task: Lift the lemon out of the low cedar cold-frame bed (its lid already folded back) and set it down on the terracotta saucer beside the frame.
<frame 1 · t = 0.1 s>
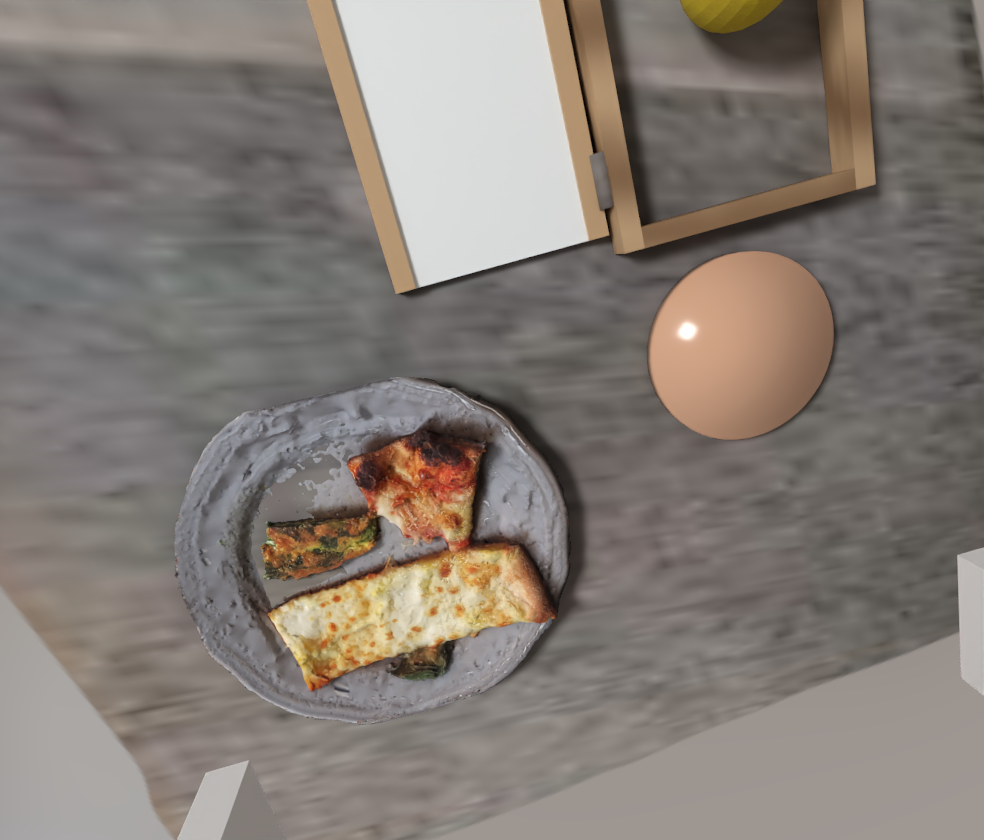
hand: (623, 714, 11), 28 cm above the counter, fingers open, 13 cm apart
lid: (451, 64, 33), on the counter
food plate: (383, 547, 40), on the counter
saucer: (736, 347, 39), on the counter
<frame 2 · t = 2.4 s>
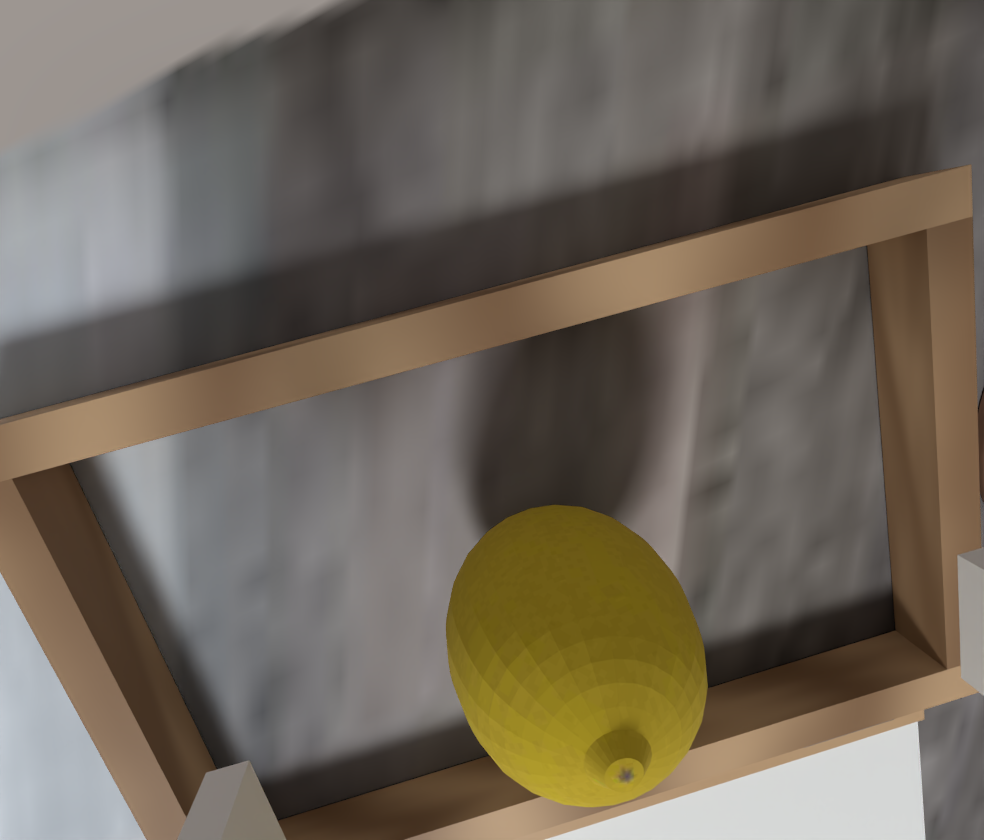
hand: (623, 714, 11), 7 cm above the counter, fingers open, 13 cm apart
cold frame: (534, 552, 17), on the counter
lemon: (533, 549, 18), resting in cold frame
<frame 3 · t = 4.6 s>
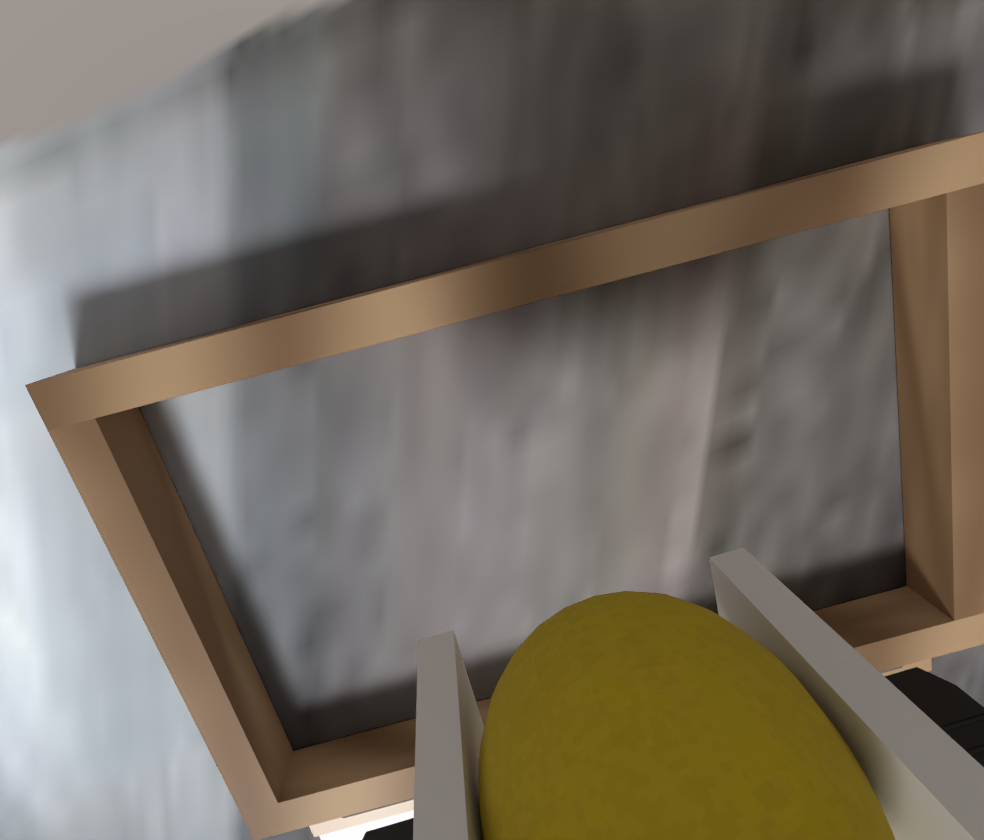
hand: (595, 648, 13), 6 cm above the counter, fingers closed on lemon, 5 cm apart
cold frame: (561, 502, 19), on the counter
lemon: (588, 630, 13), point 6 cm above the counter, touching gripper
lid: (640, 836, 23), on the counter
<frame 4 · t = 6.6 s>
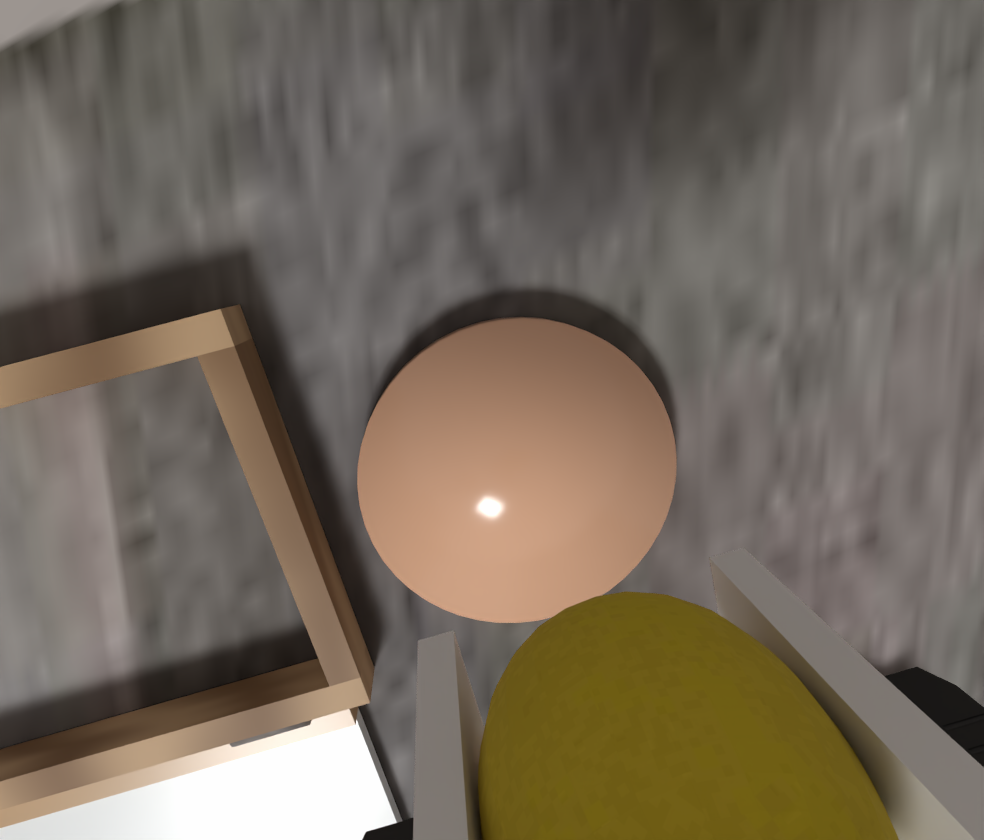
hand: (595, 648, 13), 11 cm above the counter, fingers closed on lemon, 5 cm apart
lemon: (588, 631, 13), point 10 cm above the counter, touching gripper
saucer: (517, 472, 23), on the counter
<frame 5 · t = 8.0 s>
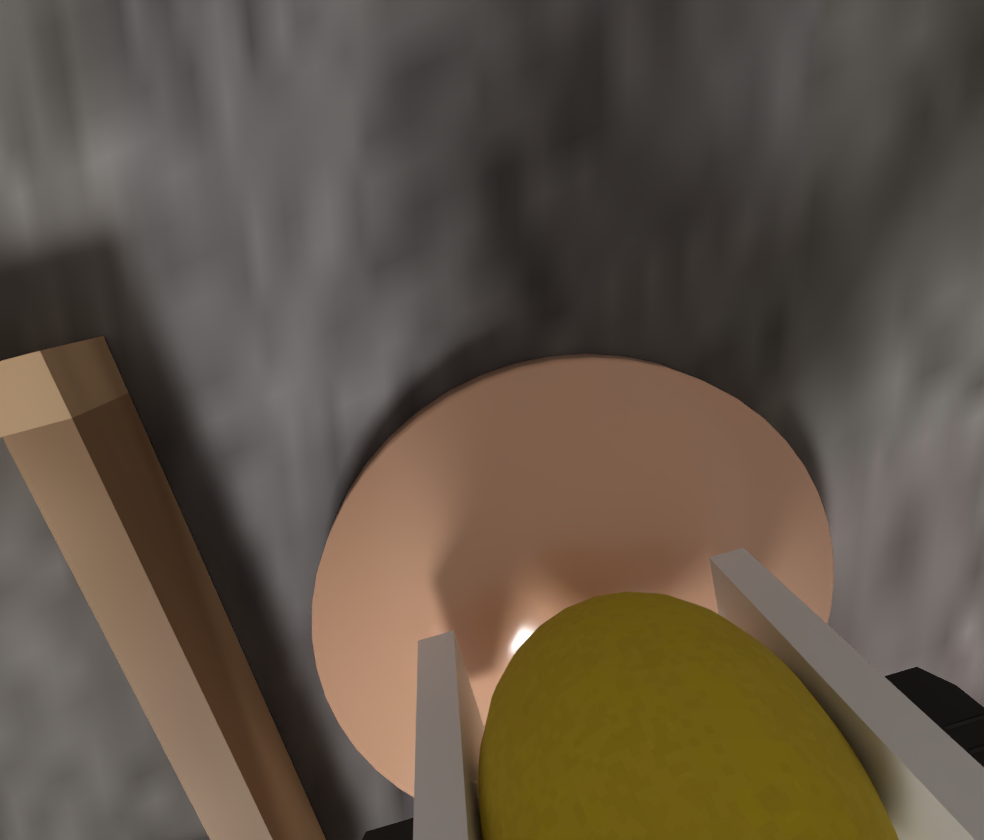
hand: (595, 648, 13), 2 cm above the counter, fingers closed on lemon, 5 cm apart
lemon: (588, 631, 13), point 1 cm above the counter, touching gripper
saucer: (573, 598, 14), on the counter
when the fingers open (1 cm above the counter, at t = 8.5 s): lemon stays where it is, resting on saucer.
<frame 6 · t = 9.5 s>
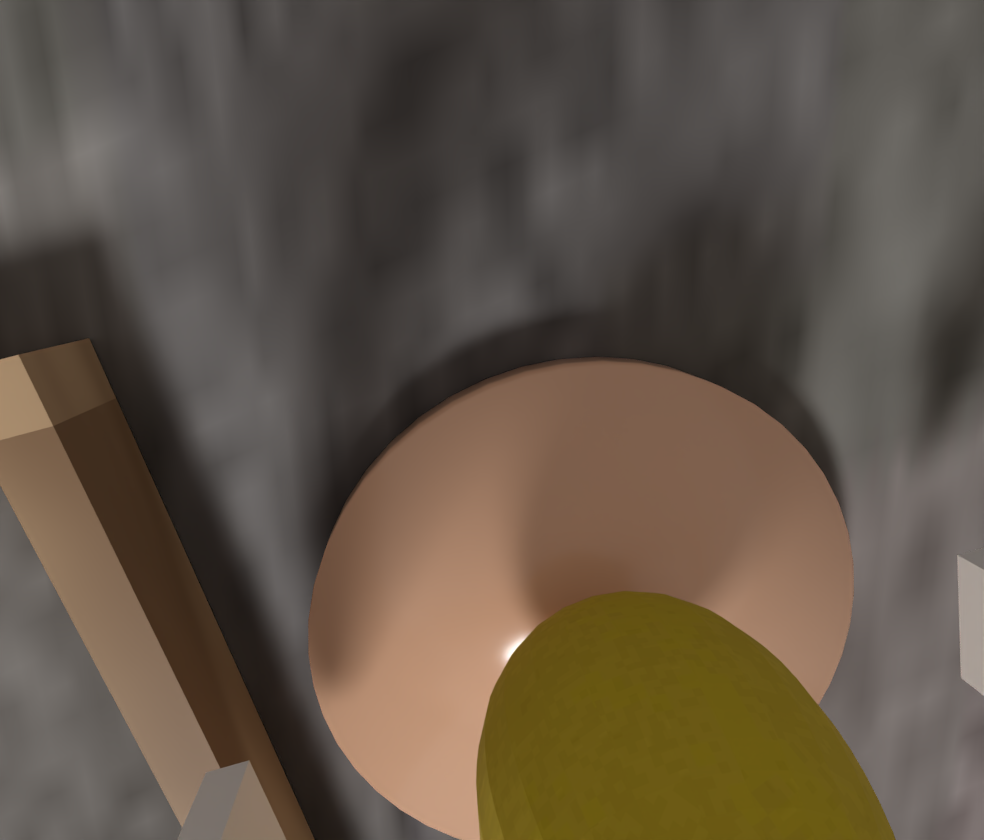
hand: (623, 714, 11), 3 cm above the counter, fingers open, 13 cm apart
lemon: (587, 631, 13), point 1 cm above the counter, touching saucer
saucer: (580, 612, 14), on the counter
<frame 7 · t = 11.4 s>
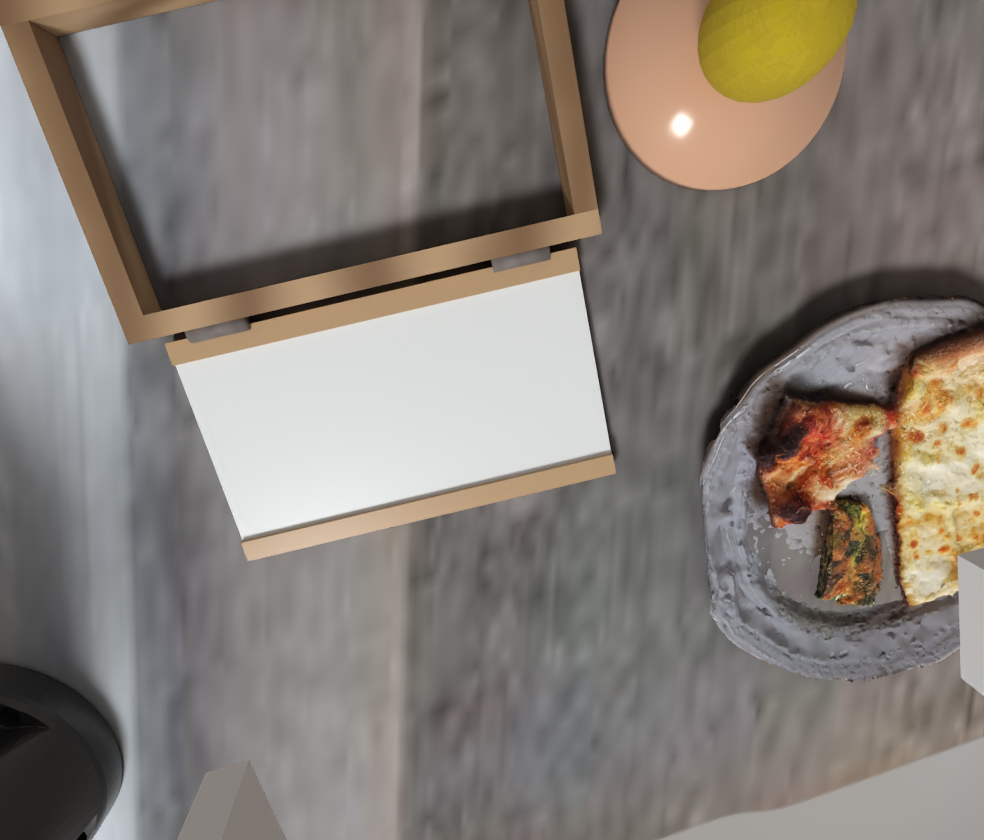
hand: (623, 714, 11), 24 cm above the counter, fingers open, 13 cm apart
cold frame: (328, 132, 30), on the counter
lemon: (725, 58, 29), point 1 cm above the counter, touching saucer
lid: (404, 407, 34), on the counter
food plate: (867, 490, 38), on the counter
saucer: (719, 64, 30), on the counter
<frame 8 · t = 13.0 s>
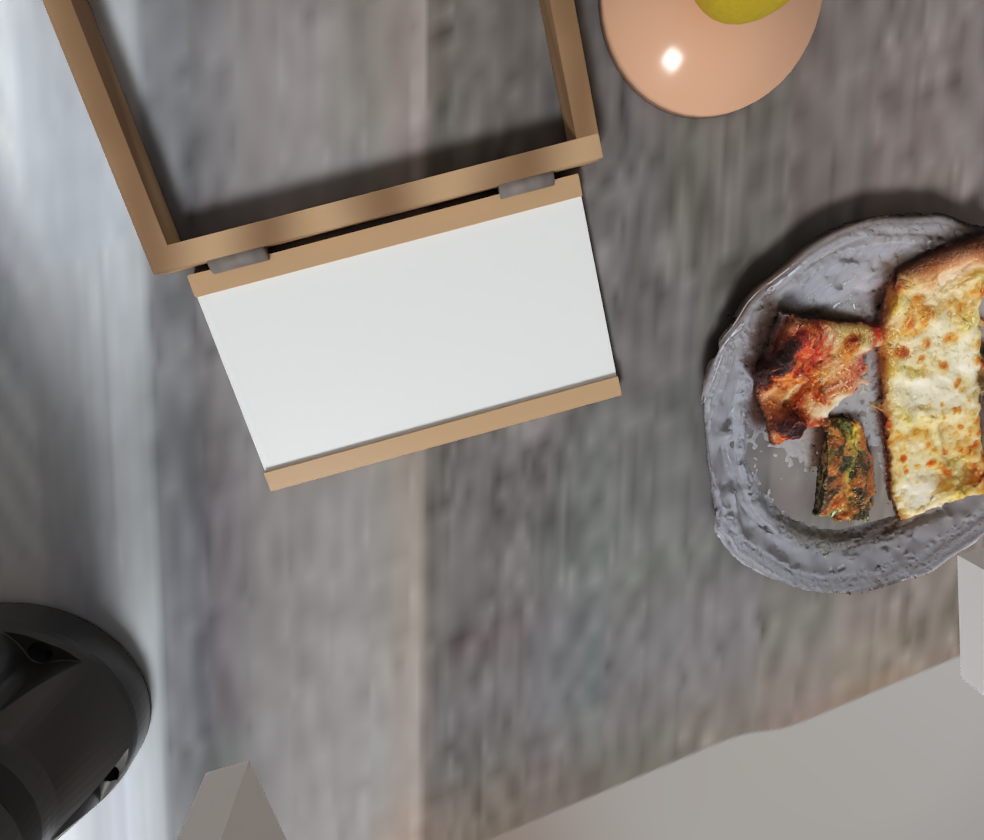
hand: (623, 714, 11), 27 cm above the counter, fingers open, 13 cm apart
cold frame: (340, 67, 31), on the counter
lid: (418, 337, 35), on the counter
food plate: (858, 409, 40), on the counter
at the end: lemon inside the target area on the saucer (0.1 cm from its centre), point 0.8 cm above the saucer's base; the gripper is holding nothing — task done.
